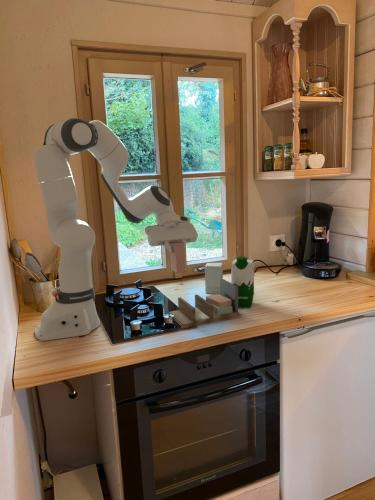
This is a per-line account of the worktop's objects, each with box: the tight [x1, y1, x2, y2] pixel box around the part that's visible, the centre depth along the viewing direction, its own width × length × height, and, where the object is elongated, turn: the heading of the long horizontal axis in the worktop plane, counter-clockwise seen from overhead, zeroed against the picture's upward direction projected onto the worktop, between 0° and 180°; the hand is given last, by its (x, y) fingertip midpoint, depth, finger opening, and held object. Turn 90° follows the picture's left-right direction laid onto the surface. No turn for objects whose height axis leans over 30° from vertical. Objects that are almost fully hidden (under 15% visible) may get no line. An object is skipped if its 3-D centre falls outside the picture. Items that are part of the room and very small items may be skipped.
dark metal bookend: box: [219, 279, 239, 313], centre depth 145 cm, size 1×12×10 cm, turn 22°
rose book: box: [169, 242, 186, 274], centre depth 148 cm, size 4×6×11 cm, turn 23°
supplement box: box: [204, 262, 224, 295], centre depth 171 cm, size 7×7×13 cm
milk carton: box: [230, 256, 255, 309], centre depth 151 cm, size 9×9×20 cm
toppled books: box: [205, 294, 232, 315], centre depth 144 cm, size 7×10×4 cm, turn 23°
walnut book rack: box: [168, 294, 241, 329], centre depth 142 cm, size 23×14×6 cm, turn 113°
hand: (178, 251), depth 147 cm, fingers closed on rose book, 3 cm apart
